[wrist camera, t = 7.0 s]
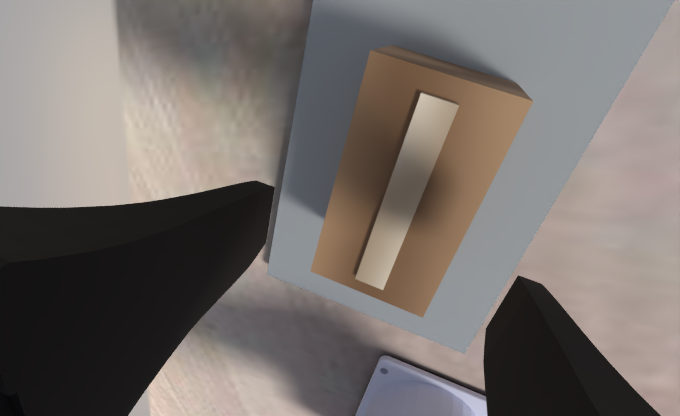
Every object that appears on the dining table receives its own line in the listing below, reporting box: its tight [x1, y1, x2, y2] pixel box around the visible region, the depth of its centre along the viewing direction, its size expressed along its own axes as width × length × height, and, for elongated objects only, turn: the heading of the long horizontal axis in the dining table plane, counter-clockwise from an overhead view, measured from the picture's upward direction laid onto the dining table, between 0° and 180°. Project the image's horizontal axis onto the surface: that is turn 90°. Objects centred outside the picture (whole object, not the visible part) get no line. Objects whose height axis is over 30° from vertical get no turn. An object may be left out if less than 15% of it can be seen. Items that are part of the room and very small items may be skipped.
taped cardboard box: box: [311, 45, 533, 318], centre depth 15 cm, size 5×9×4 cm, turn 165°
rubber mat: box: [267, 0, 674, 354], centre depth 17 cm, size 18×12×1 cm, turn 166°
